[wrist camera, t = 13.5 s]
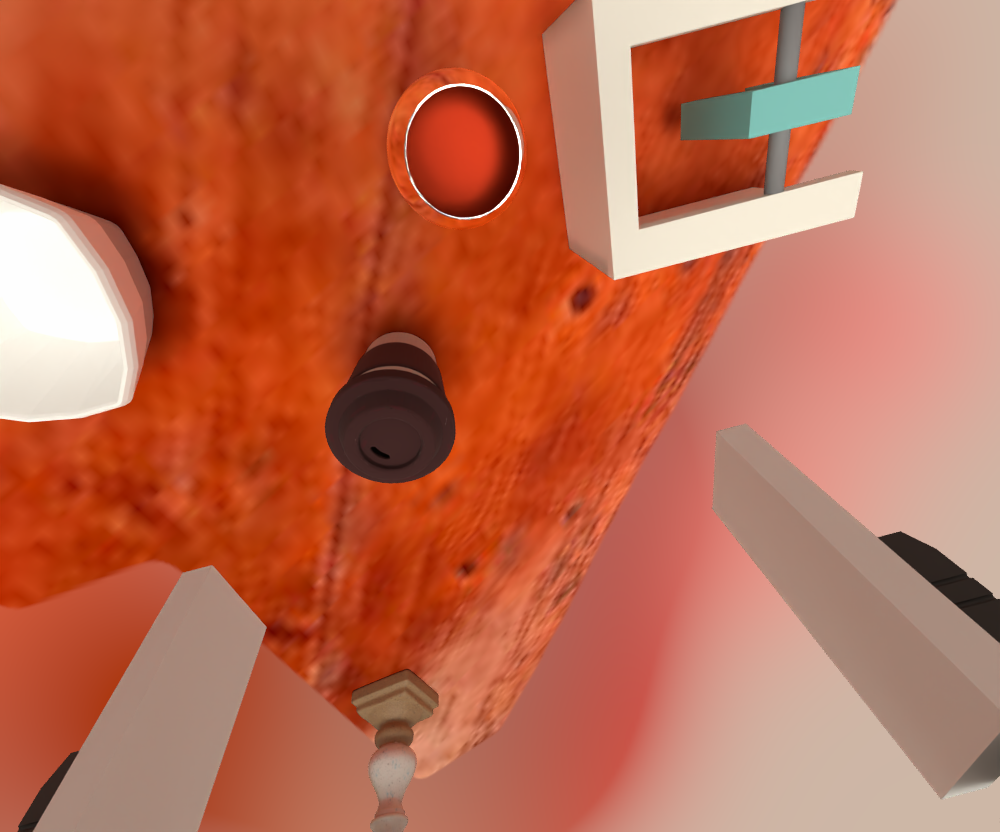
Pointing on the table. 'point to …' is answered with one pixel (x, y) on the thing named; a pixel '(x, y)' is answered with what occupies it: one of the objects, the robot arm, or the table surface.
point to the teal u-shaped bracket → (771, 107)
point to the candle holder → (393, 739)
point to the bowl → (67, 311)
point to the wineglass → (456, 148)
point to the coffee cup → (392, 413)
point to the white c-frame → (611, 141)
